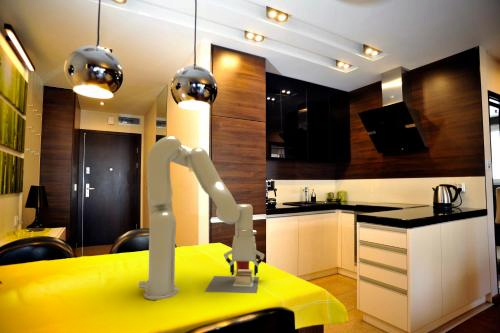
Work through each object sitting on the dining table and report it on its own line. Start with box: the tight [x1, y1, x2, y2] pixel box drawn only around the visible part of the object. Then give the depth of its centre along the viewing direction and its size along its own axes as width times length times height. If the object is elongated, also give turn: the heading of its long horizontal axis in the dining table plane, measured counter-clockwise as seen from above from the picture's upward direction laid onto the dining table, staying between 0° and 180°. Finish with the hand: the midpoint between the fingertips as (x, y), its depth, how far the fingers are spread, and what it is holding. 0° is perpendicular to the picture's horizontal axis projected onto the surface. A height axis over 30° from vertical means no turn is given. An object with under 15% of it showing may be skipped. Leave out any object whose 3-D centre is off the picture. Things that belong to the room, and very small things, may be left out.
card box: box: [235, 269, 253, 285], centre depth 115 cm, size 9×6×4 cm, turn 175°
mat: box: [204, 275, 260, 294], centre depth 112 cm, size 20×18×1 cm
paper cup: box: [235, 261, 250, 272], centre depth 128 cm, size 8×8×14 cm
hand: (244, 274), depth 115 cm, fingers open, 9 cm apart
